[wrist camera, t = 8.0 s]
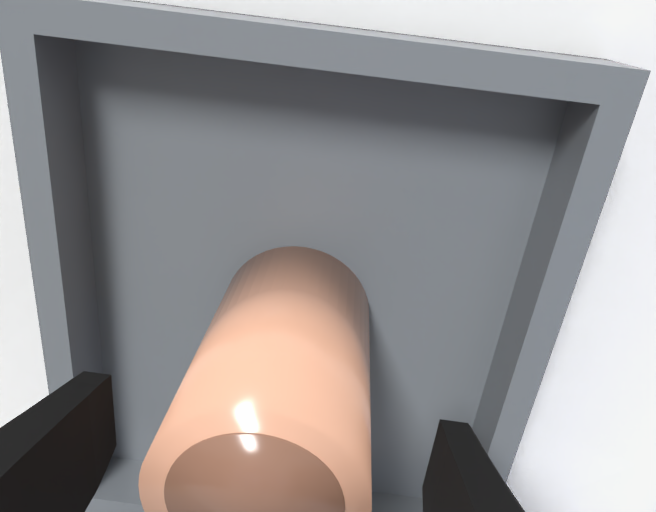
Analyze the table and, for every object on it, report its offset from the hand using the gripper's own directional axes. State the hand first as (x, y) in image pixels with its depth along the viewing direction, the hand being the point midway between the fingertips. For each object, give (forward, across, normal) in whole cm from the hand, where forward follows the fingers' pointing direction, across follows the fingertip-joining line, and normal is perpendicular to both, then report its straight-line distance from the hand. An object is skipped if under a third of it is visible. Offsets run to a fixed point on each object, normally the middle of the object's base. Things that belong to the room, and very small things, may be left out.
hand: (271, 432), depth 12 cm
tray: (+6, 0, 0) cm, 6 cm away
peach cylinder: (+5, 0, 0) cm, 5 cm away
